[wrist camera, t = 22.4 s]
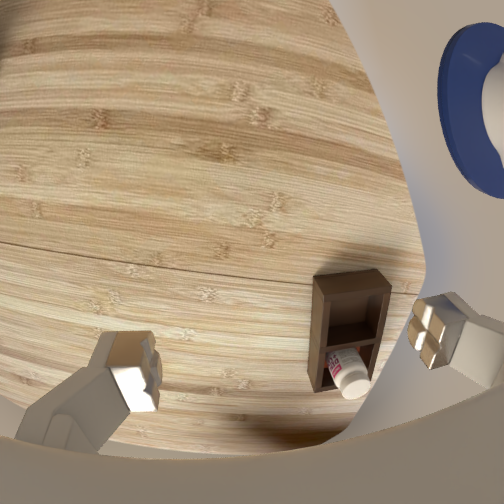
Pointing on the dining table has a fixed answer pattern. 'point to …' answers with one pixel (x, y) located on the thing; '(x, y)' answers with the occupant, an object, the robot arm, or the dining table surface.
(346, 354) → the pill bottle
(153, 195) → the dining table surface
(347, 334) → the holder
